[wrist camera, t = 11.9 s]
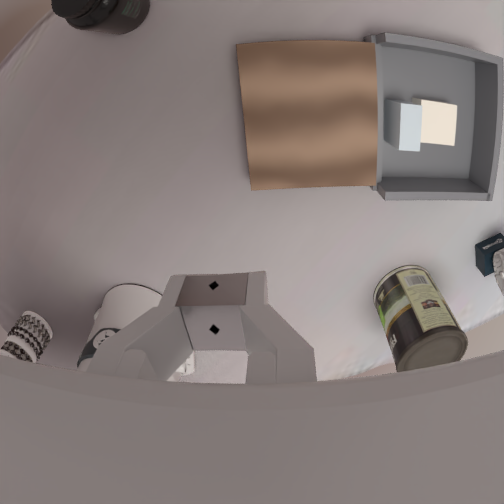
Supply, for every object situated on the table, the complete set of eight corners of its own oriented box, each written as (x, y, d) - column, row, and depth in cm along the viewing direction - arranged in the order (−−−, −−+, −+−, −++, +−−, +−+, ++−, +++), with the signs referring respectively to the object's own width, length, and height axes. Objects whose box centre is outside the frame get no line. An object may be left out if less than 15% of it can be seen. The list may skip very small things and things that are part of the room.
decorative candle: (58, 329, 56) (5, 425, 34) (48, 346, 60) (2, 432, 38) (25, 302, 53) (-36, 392, 31) (18, 321, 57) (-34, 404, 35)
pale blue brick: (383, 139, 33) (402, 141, 33) (398, 150, 29) (419, 151, 29) (384, 98, 31) (404, 100, 31) (401, 103, 27) (422, 105, 26)
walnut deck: (366, 174, 37) (375, 185, 33) (252, 178, 38) (251, 190, 35) (364, 45, 29) (374, 42, 25) (239, 47, 30) (236, 44, 27)
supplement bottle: (93, 31, 28) (34, 26, 18) (111, -17, 25) (57, -37, 15) (140, 38, 29) (88, 30, 19) (159, -12, 26) (115, -39, 16)
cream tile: (419, 142, 31) (410, 137, 33) (454, 145, 30) (444, 140, 33) (421, 99, 28) (412, 97, 30) (457, 105, 28) (447, 102, 30)
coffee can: (382, 324, 50) (404, 392, 38) (364, 282, 45) (389, 354, 33) (436, 299, 47) (469, 362, 35) (425, 253, 42) (466, 318, 30)
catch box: (469, 183, 36) (492, 200, 31) (366, 182, 37) (380, 200, 32) (476, 56, 27) (503, 58, 22) (363, 37, 28) (380, 32, 23)
